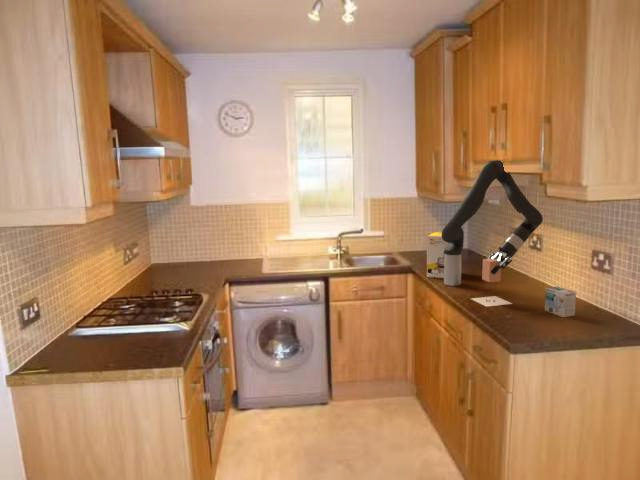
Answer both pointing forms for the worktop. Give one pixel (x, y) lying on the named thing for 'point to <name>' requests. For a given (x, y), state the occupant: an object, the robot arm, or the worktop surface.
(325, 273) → the worktop surface
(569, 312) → the light bulb box
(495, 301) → the cream square pad
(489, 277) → the terracotta block
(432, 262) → the packaging box
